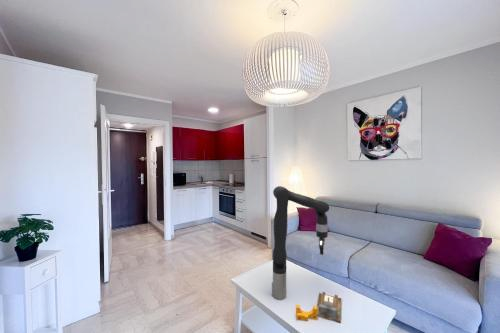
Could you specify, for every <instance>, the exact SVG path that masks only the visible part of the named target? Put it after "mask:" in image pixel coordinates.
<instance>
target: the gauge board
mask: <svg viewBox="0 0 500 333" xmlns="http://www.w3.org/2000/svg"><path fill="white" fill-rule="evenodd" d="M325 295H327V296H331V297H333V307H330V306H326V305H324V298H325ZM316 306H317V318H322V319H324V320H328V321H332V322H335V323H339V324H341V323H342V298H341V297H339V295H338V294H334V295H333V296H332V295H329V294H326V291H322V292H318V299H317V303H316Z"/></svg>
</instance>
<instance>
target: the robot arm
mask: <svg viewBox="0 0 500 333" xmlns="http://www.w3.org/2000/svg"><path fill="white" fill-rule="evenodd" d="M272 193H273V196H274V198H275V199H276V211H275V214H274V218H273V240H274V248H273V250H272V282H271V297H273V298H274V299H276V300H278V301H279V300H280V301H281V300H285V299H286V298H287V249H286V248H287V247H286V246H287V245H286V243H287V234H288V214H289V212H288V207H289V201H290V202H292V203H295V204H297V205H300V206H303V207H305V208H310V209H312V210H315V214H316V227H315V230H316V231H315V236H316V237H317V238H318V249H319V254H320V256H321V255H322V256H323V255H324V249H325V244H326V243H325V241H326V238H328V235H329V234H328V233H329V232H328V229H329V228H328V216H327V215H326V213H328V212H329V210H330V205H329V204H328V203H327V202H325V201H322V200H318V199H315V198H313V197H310V196H306V195H304V194H300V193H296V192H294V191H293V192H292V191H291V190H288V189H287V188H286V187H284V186H281V185H279V186H276V187H275V188H274V189H273V190H272Z"/></svg>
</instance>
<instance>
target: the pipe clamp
mask: <svg viewBox="0 0 500 333" xmlns="http://www.w3.org/2000/svg"><path fill="white" fill-rule="evenodd" d="M295 318H296V321H303V322H308V321H309V320H315V321H316V320H318V317H317V305H313V306H312V309H311V310H309V311H304V310H303V309H301V306H300V304H295Z"/></svg>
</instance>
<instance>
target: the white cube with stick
mask: <svg viewBox="0 0 500 333" xmlns="http://www.w3.org/2000/svg"><path fill="white" fill-rule="evenodd" d="M327 295H328V294H326V295H325V298H324V305H326V306H330V307H333V297H331V296H332V295H330V296H327Z"/></svg>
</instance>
